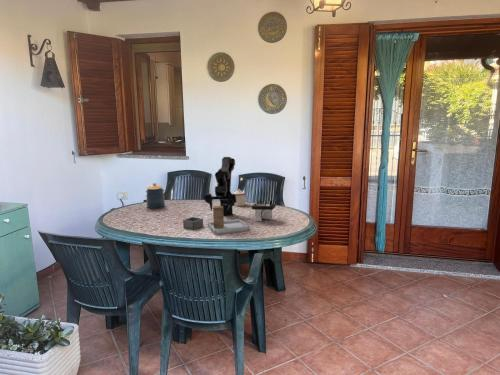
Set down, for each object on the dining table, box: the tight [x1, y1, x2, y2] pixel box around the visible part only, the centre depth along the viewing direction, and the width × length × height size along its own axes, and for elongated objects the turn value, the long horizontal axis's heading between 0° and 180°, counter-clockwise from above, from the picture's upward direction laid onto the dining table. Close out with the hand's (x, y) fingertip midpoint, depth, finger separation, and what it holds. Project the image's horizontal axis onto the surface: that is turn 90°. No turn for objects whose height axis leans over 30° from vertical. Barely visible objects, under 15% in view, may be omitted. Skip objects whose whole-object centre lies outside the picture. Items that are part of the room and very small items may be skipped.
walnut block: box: [212, 205, 225, 228], centre depth 222 cm, size 5×5×12 cm
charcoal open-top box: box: [182, 216, 204, 230], centre depth 227 cm, size 8×8×4 cm
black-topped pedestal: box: [251, 199, 277, 222], centre depth 239 cm, size 28×26×13 cm
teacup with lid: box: [232, 188, 246, 207], centre depth 282 cm, size 12×9×12 cm
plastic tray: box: [207, 218, 250, 236], centre depth 222 cm, size 20×17×2 cm
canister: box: [145, 182, 166, 209], centre depth 280 cm, size 13×13×18 cm
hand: (219, 210), depth 223 cm, fingers open, 9 cm apart
